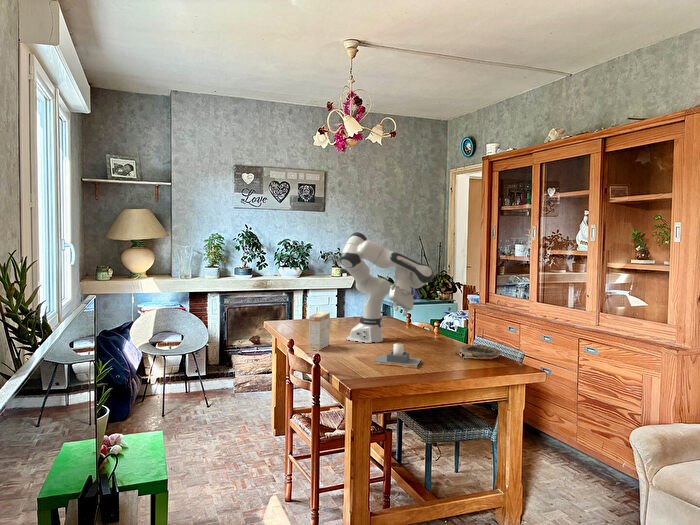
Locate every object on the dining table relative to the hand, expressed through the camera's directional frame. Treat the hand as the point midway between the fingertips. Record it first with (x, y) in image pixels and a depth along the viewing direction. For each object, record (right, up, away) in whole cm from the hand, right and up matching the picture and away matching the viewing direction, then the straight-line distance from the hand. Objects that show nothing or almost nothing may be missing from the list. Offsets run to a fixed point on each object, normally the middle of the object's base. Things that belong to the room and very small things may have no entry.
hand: (400, 313), depth 278 cm
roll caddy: (-2, -25, -12) cm, 27 cm away
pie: (+45, -25, +6) cm, 52 cm away
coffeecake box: (-45, -22, +16) cm, 52 cm away
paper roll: (-2, -23, -12) cm, 26 cm away
